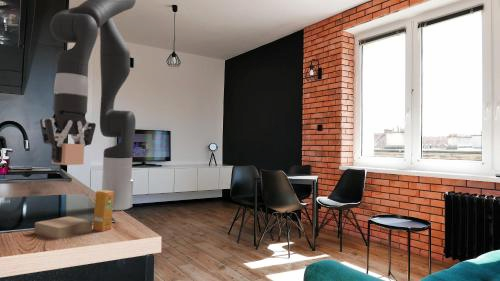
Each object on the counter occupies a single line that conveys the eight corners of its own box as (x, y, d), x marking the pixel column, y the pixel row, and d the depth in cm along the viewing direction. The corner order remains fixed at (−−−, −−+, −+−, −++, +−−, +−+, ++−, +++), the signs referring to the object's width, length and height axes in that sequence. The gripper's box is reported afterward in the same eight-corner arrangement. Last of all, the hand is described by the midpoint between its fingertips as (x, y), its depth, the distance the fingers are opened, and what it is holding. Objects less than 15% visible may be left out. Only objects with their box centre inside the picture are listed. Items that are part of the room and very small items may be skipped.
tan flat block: (68, 227, 93) (68, 216, 93) (91, 232, 89) (92, 221, 89) (34, 234, 85) (34, 222, 85) (58, 241, 81) (58, 228, 81)
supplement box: (103, 231, 89) (105, 192, 89) (92, 230, 90) (94, 191, 90) (112, 228, 92) (114, 190, 92) (101, 227, 93) (103, 189, 93)
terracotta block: (70, 163, 90) (71, 143, 90) (83, 164, 88) (84, 144, 88) (51, 163, 86) (52, 143, 86) (65, 164, 84) (66, 144, 84)
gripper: (85, 98, 95) (82, 160, 95) (33, 89, 82) (29, 161, 82) (105, 97, 92) (102, 162, 92) (53, 88, 79) (49, 164, 79)
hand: (67, 161), depth 87 cm, fingers closed on terracotta block, 5 cm apart
